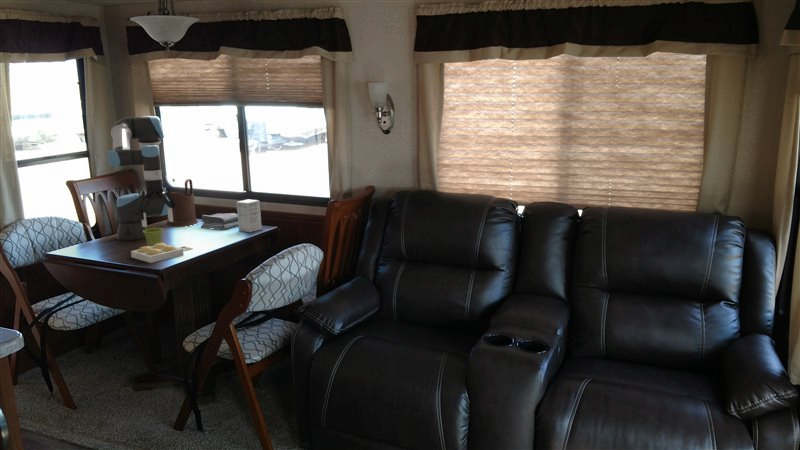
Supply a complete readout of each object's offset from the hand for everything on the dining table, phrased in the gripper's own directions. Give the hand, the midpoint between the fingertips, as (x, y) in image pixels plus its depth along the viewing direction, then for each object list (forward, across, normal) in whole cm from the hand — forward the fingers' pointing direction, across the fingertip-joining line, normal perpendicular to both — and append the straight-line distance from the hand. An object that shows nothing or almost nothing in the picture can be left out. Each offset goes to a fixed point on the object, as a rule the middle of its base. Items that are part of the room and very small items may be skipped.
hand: (158, 224), depth 283 cm
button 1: (+15, -3, +8) cm, 17 cm away
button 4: (+15, +4, 0) cm, 15 cm away
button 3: (+15, +4, +8) cm, 17 cm away
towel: (+16, +59, +32) cm, 69 cm away
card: (+16, +14, +5) cm, 22 cm away
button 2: (+15, -3, 0) cm, 15 cm away
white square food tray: (+16, 0, +4) cm, 17 cm away
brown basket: (+16, +52, +59) cm, 80 cm away
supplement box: (+16, +62, +10) cm, 64 cm away
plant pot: (+16, +10, +22) cm, 29 cm away
